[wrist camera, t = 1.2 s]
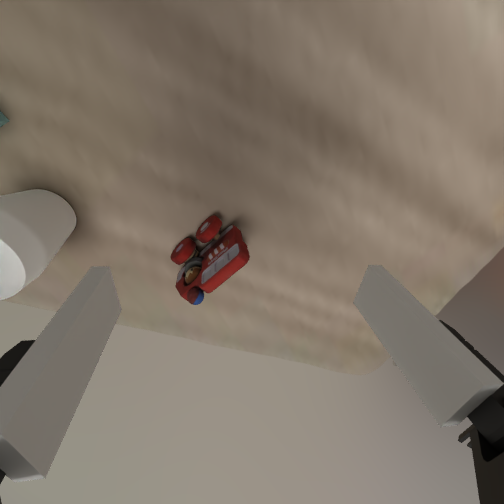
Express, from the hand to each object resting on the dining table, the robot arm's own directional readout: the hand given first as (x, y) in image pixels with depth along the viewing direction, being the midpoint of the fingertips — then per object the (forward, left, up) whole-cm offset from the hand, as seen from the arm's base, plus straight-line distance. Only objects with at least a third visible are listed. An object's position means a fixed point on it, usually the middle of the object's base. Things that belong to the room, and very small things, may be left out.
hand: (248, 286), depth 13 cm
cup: (-8, -23, -23) cm, 33 cm away
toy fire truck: (+7, -8, -23) cm, 25 cm away
